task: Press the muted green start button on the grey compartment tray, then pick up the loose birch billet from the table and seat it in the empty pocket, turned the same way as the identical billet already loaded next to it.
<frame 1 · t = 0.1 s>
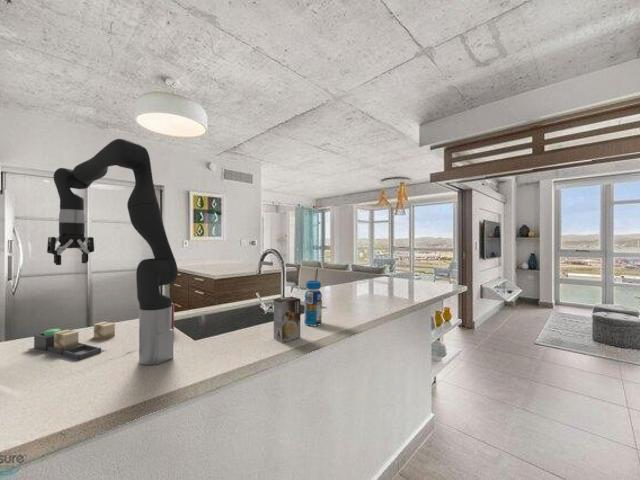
hand: (71, 264, 111), 29 cm above the countertop, tool pointing down, fingers open, 8 cm apart
loose billet: (104, 339, 112), on the countertop
beverage bottle: (312, 324, 136), on the countertop
coffee box: (286, 338, 116), on the countertop
grey compartment tray: (67, 352, 99), on the countertop
loaded billet: (66, 349, 99), resting on grey compartment tray
start button: (52, 334, 102), point 5 cm above the countertop, slide at 0.0 cm
soda can: (164, 332, 121), on the countertop
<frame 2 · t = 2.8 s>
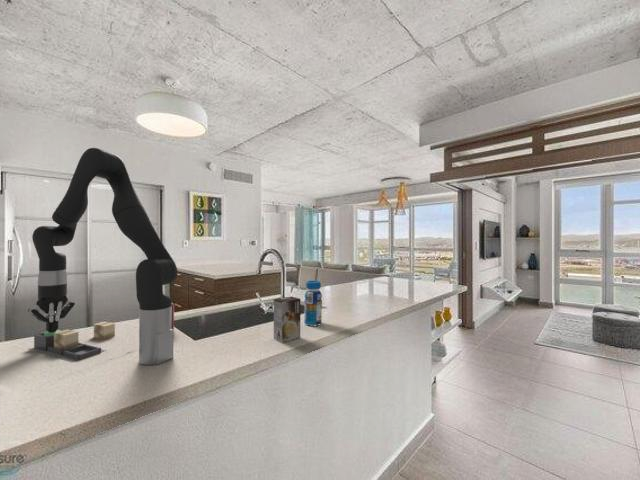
hand: (52, 331, 102), 6 cm above the countertop, tool pointing down, fingers closed
start button: (52, 336, 102), point 4 cm above the countertop, slide at 0.5 cm, touching gripper
everything else where it was.
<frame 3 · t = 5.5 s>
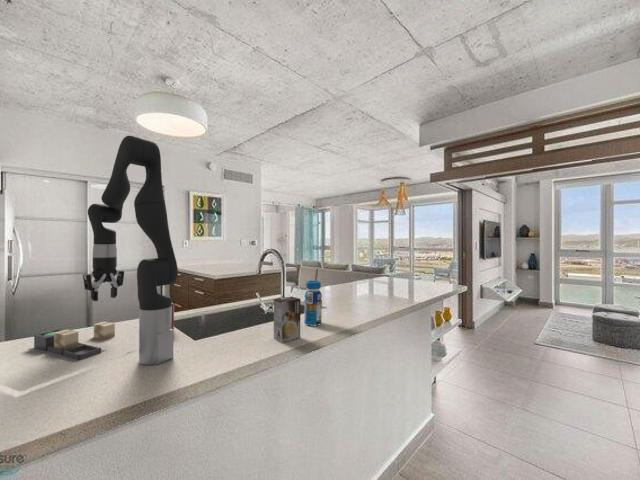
hand: (104, 298, 112), 16 cm above the countertop, tool pointing down, fingers open, 6 cm apart
start button: (52, 338, 102), point 4 cm above the countertop, slide at 1.2 cm
everything else where it was.
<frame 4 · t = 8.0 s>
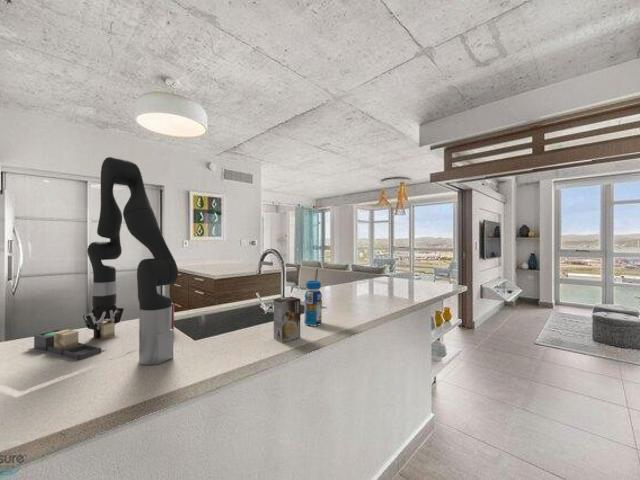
hand: (104, 336, 112), 1 cm above the countertop, tool pointing down, fingers closed on loose billet, 4 cm apart
loose billet: (104, 339, 112), on the countertop, touching gripper
everything else where it was.
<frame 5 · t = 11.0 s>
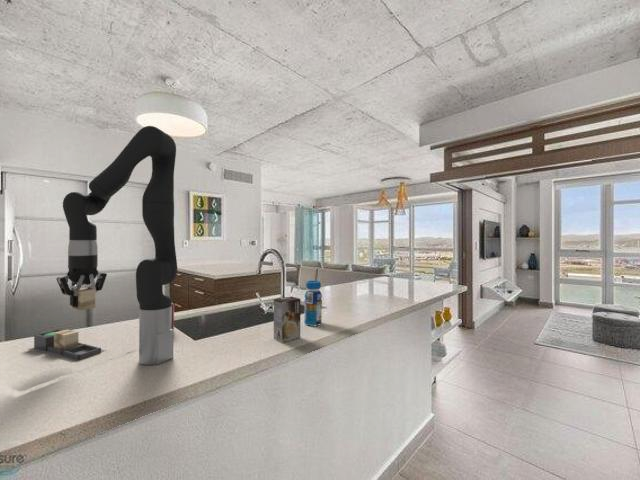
hand: (83, 305, 96), 17 cm above the countertop, tool pointing down, fingers closed on loose billet, 4 cm apart
loose billet: (82, 307, 96), point 16 cm above the countertop, touching gripper
everything else where it was.
when the fingers open (3 cm above the countertop, at t = 14.1 s): loose billet drops 1 cm, resting on grey compartment tray.
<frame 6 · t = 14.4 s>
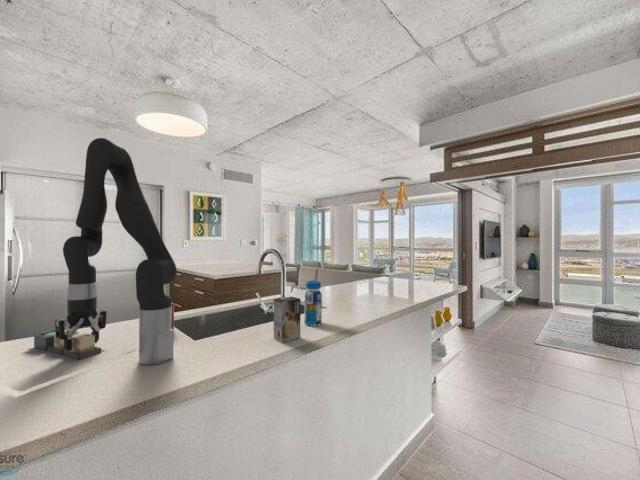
hand: (82, 346, 96), 4 cm above the countertop, tool pointing down, fingers open, 7 cm apart
loose billet: (82, 353, 96), point 1 cm above the countertop, touching grey compartment tray
everything else where it was.
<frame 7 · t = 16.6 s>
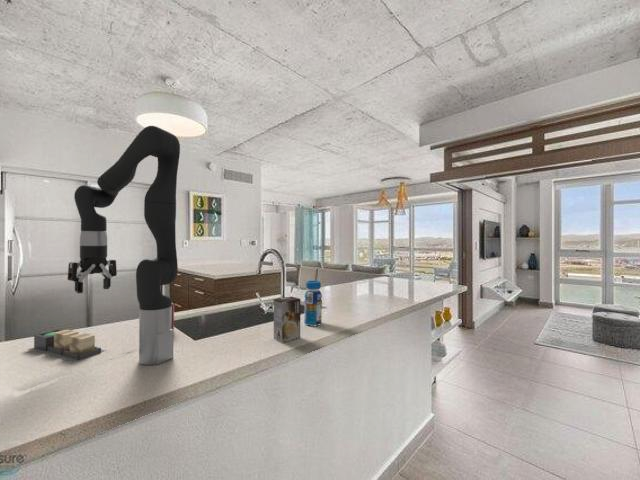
hand: (93, 290, 100), 21 cm above the countertop, tool pointing down, fingers open, 8 cm apart
nothing on the countertop moved.
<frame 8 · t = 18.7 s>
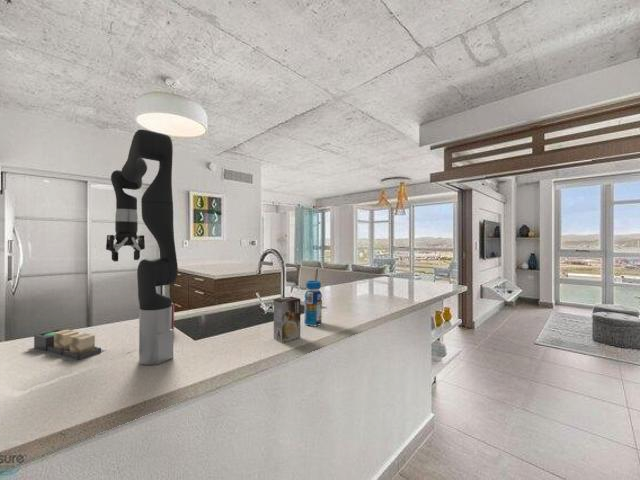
hand: (126, 260, 118), 30 cm above the countertop, tool pointing down, fingers open, 8 cm apart
nothing on the countertop moved.
at the end: start button slide at 1.2 cm; loose billet 0.1 cm from the target spot on the grey compartment tray, point 1.0 cm above the grey compartment tray's base; loose billet tilted 0° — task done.
